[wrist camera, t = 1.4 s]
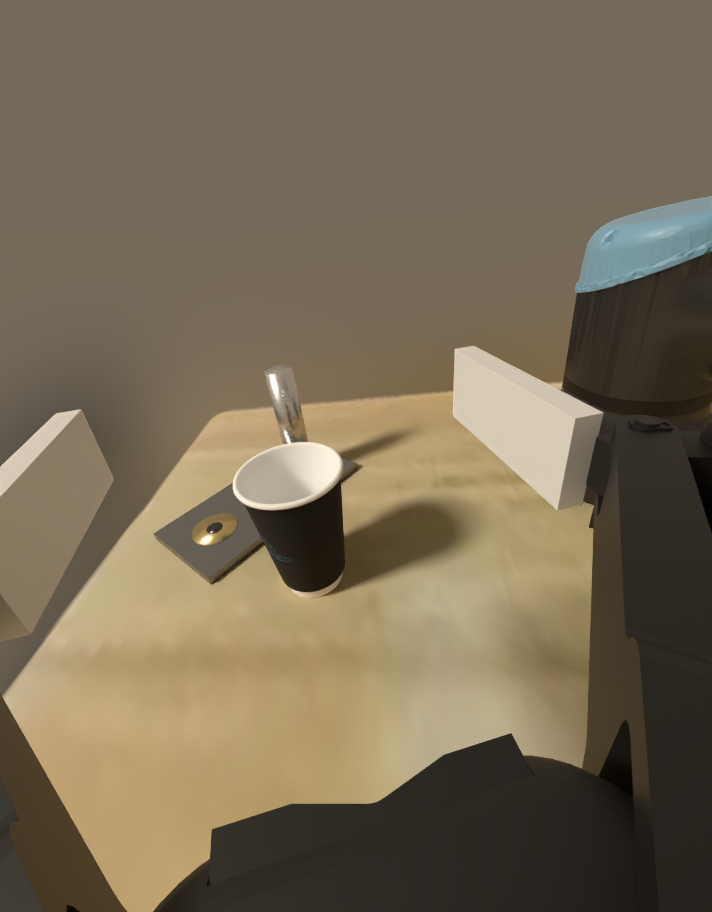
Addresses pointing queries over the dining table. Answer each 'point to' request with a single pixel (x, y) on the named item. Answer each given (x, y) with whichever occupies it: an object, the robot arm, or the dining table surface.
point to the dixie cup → (298, 512)
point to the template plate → (217, 533)
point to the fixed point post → (286, 403)
